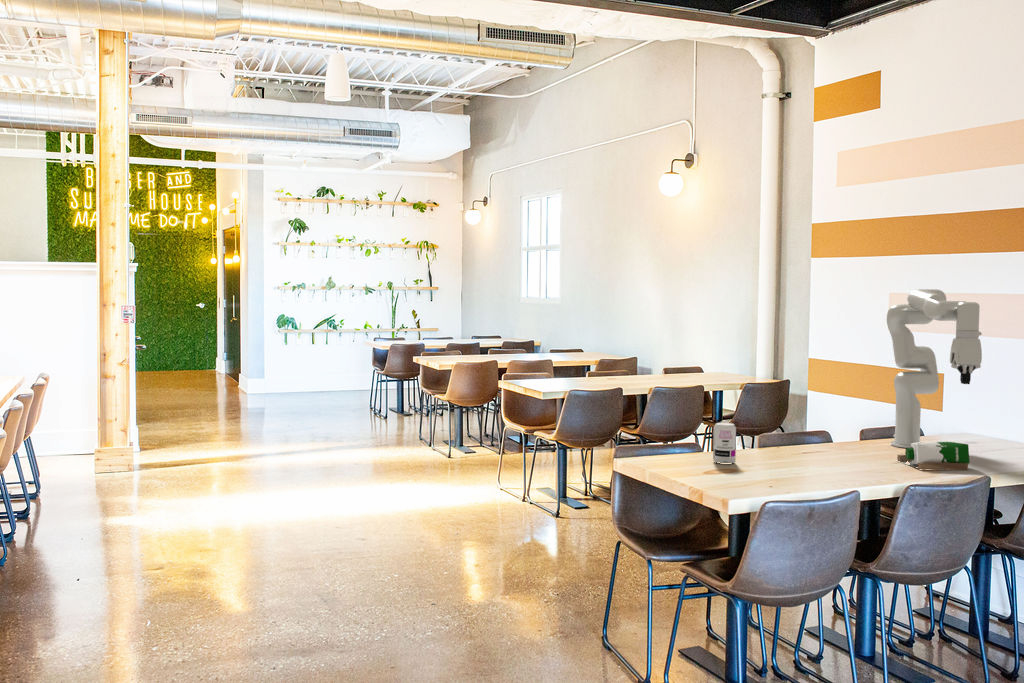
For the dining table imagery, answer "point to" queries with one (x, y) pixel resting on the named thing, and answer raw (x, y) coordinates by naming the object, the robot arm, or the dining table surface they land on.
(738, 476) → the dining table surface
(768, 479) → the dining table surface
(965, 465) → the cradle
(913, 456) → the soya milk
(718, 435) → the supplement can
